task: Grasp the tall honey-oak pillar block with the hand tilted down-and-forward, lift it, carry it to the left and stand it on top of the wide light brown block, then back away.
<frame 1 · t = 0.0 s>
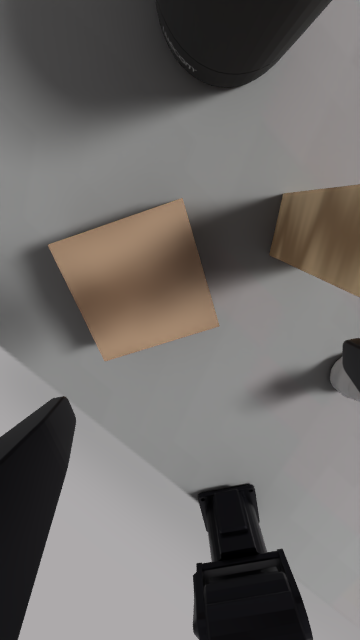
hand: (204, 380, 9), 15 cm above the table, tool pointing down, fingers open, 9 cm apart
light brown block: (144, 275, 23), on the table
rook chess piece: (349, 369, 27), on the table
oak pillar: (303, 228, 22), on the table
pen holder: (228, 2, 17), on the table
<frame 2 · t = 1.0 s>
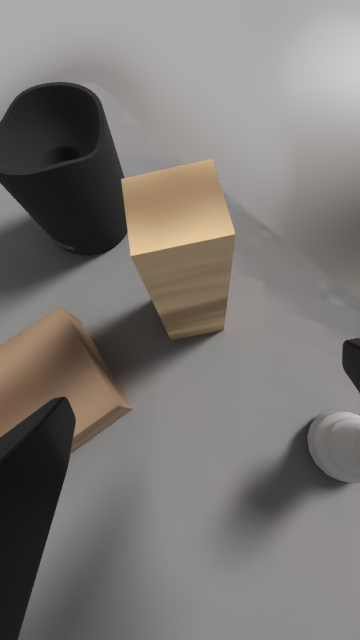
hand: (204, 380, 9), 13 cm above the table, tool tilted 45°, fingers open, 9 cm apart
light brown block: (61, 395, 23), on the table
rook chess piece: (337, 444, 20), on the table
oak pillar: (192, 310, 24), on the table
pen holder: (94, 222, 29), on the table
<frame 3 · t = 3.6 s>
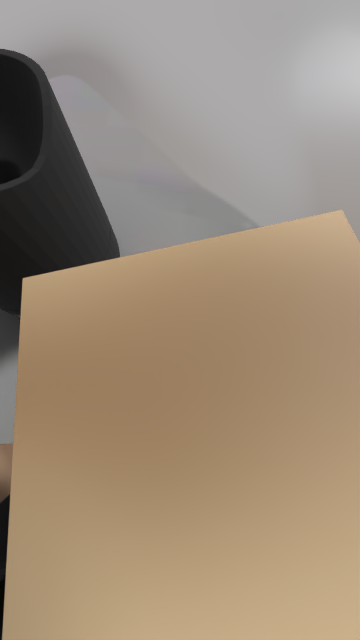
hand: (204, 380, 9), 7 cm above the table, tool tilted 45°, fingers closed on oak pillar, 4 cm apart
oak pillar: (213, 429, 14), on the table, touching gripper
pen holder: (63, 269, 20), on the table
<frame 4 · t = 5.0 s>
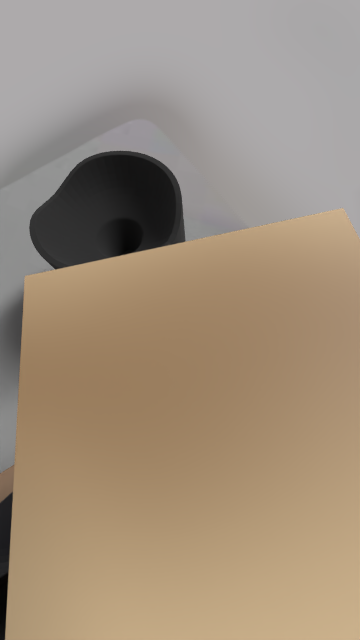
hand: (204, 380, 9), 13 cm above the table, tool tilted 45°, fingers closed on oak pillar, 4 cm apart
light brown block: (96, 500, 20), on the table
oak pillar: (214, 428, 15), point 7 cm above the table, touching gripper
pen holder: (142, 286, 26), on the table
when the fingers open (12 cm above the table, at t = 6.4 s): oak pillar drops 2 cm, point 4 cm above the table.
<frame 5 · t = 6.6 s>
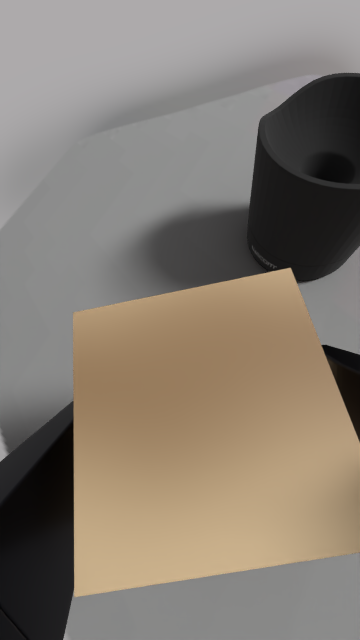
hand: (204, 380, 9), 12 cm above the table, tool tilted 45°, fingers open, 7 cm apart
oak pillar: (212, 429, 16), point 4 cm above the table
pen holder: (295, 241, 25), on the table
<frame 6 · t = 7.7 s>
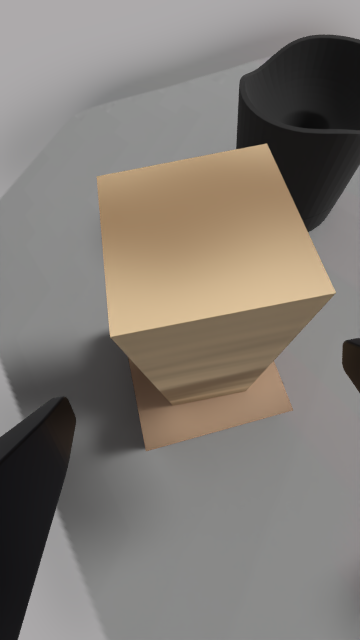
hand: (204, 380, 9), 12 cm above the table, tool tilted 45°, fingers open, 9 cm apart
light brown block: (200, 370, 22), on the table
oak pillar: (201, 362, 18), point 4 cm above the table
pen holder: (280, 203, 26), on the table
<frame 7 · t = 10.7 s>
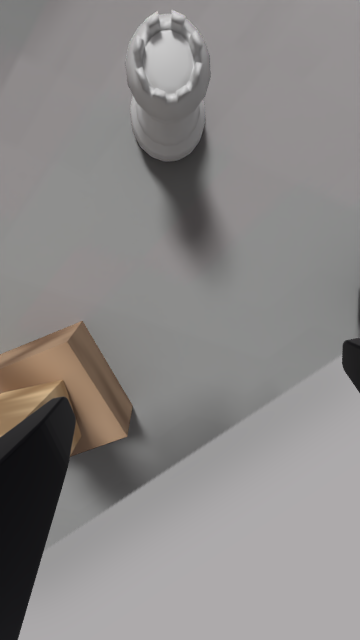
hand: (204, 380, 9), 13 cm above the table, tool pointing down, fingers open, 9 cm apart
light brown block: (63, 381, 24), on the table
rook chess piece: (167, 122, 17), on the table
oak pillar: (42, 414, 20), point 4 cm above the table, tilted 11°
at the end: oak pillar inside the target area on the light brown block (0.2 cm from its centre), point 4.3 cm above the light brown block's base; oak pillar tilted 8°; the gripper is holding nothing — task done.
